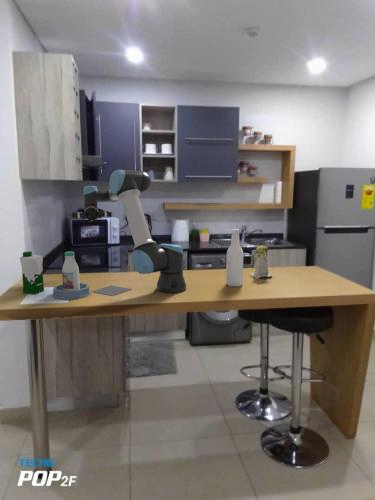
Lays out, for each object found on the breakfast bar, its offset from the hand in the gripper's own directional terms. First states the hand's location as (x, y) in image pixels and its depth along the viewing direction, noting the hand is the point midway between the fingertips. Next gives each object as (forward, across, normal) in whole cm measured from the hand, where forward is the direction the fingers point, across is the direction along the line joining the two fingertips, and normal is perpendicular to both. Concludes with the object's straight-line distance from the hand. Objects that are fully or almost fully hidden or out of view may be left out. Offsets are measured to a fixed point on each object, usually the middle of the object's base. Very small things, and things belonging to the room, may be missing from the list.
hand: (92, 215), depth 182 cm
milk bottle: (+12, +12, -37) cm, 40 cm away
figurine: (+2, -95, -38) cm, 102 cm away
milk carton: (+3, +30, -37) cm, 48 cm away
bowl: (+12, +12, -37) cm, 41 cm away
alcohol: (+15, -72, -38) cm, 83 cm away
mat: (+10, -8, -37) cm, 39 cm away
